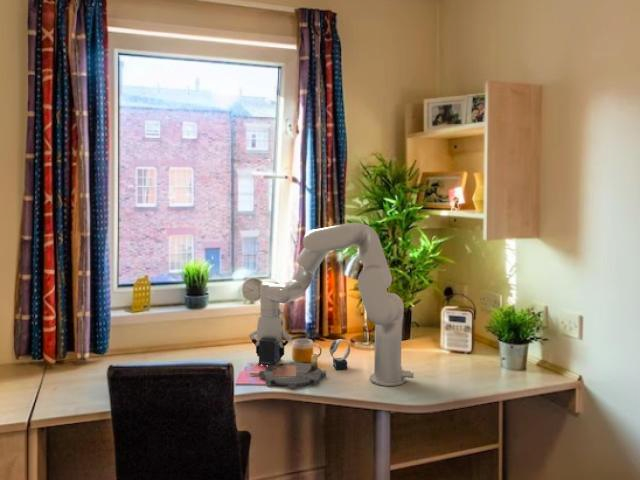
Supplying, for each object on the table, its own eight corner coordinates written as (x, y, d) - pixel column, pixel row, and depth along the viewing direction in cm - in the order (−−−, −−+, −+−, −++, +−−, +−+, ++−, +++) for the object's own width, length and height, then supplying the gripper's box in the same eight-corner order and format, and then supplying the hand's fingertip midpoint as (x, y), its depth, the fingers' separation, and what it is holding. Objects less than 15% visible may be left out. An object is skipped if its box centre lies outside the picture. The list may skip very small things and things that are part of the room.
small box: (274, 367, 214) (274, 340, 213) (258, 366, 216) (258, 339, 215) (281, 359, 225) (281, 334, 224) (266, 358, 226) (266, 333, 225)
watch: (328, 366, 216) (328, 338, 215) (348, 365, 217) (348, 337, 217) (331, 370, 210) (331, 342, 210) (351, 369, 212) (351, 341, 211)
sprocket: (293, 362, 219) (293, 345, 218) (339, 376, 203) (339, 357, 202) (245, 377, 201) (245, 358, 201) (292, 393, 185) (292, 372, 184)
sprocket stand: (309, 374, 206) (309, 371, 206) (303, 383, 196) (303, 380, 196) (254, 370, 210) (254, 367, 210) (246, 379, 200) (246, 376, 200)
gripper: (293, 311, 220) (293, 354, 222) (251, 310, 224) (252, 352, 225) (289, 316, 213) (289, 360, 215) (245, 314, 216) (246, 357, 218)
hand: (270, 356), depth 220 cm, fingers open, 8 cm apart
